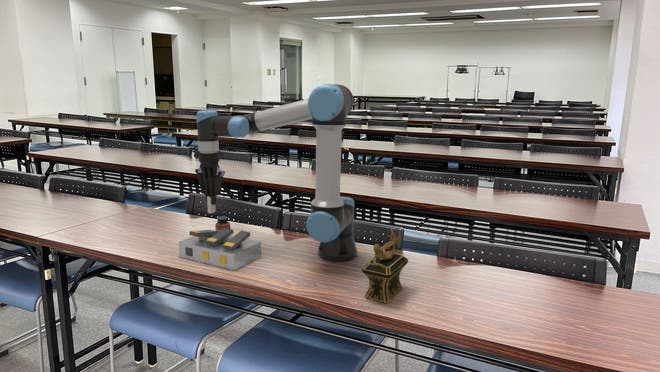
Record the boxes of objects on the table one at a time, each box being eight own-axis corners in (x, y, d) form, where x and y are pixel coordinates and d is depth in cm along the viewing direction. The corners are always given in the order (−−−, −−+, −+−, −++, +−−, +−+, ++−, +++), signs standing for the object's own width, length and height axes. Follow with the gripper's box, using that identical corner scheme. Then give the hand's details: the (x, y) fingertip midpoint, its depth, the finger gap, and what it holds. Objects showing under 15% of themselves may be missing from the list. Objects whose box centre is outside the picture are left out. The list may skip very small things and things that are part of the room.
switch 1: (217, 234, 182) (217, 230, 182) (197, 236, 173) (197, 232, 173) (209, 233, 184) (209, 229, 184) (189, 235, 174) (189, 230, 174)
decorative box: (388, 307, 139) (391, 244, 135) (359, 299, 144) (361, 238, 140) (411, 284, 156) (415, 227, 152) (384, 277, 161) (387, 222, 157)
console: (261, 256, 178) (261, 239, 176) (233, 270, 164) (233, 252, 162) (208, 244, 189) (208, 228, 188) (178, 257, 175) (177, 239, 174)
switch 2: (233, 232, 179) (233, 229, 178) (214, 245, 170) (214, 241, 169) (225, 231, 180) (224, 227, 180) (206, 243, 171) (205, 240, 171)
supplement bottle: (224, 240, 195) (224, 214, 192) (233, 244, 191) (233, 217, 188) (212, 244, 190) (212, 217, 188) (222, 247, 186) (221, 220, 184)
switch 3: (250, 235, 175) (249, 231, 174) (232, 250, 166) (231, 246, 166) (241, 233, 177) (241, 230, 176) (223, 248, 168) (222, 244, 167)
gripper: (228, 151, 176) (231, 212, 181) (202, 149, 182) (205, 208, 187) (215, 154, 169) (218, 216, 174) (188, 151, 175) (192, 212, 180)
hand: (211, 212), depth 180 cm, fingers closed
